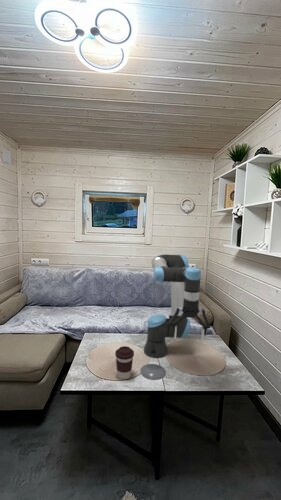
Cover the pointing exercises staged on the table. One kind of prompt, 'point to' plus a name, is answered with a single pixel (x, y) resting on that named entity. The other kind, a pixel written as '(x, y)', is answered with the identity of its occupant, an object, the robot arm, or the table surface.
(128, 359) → the coffee cup
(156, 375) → the coaster
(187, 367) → the table surface
